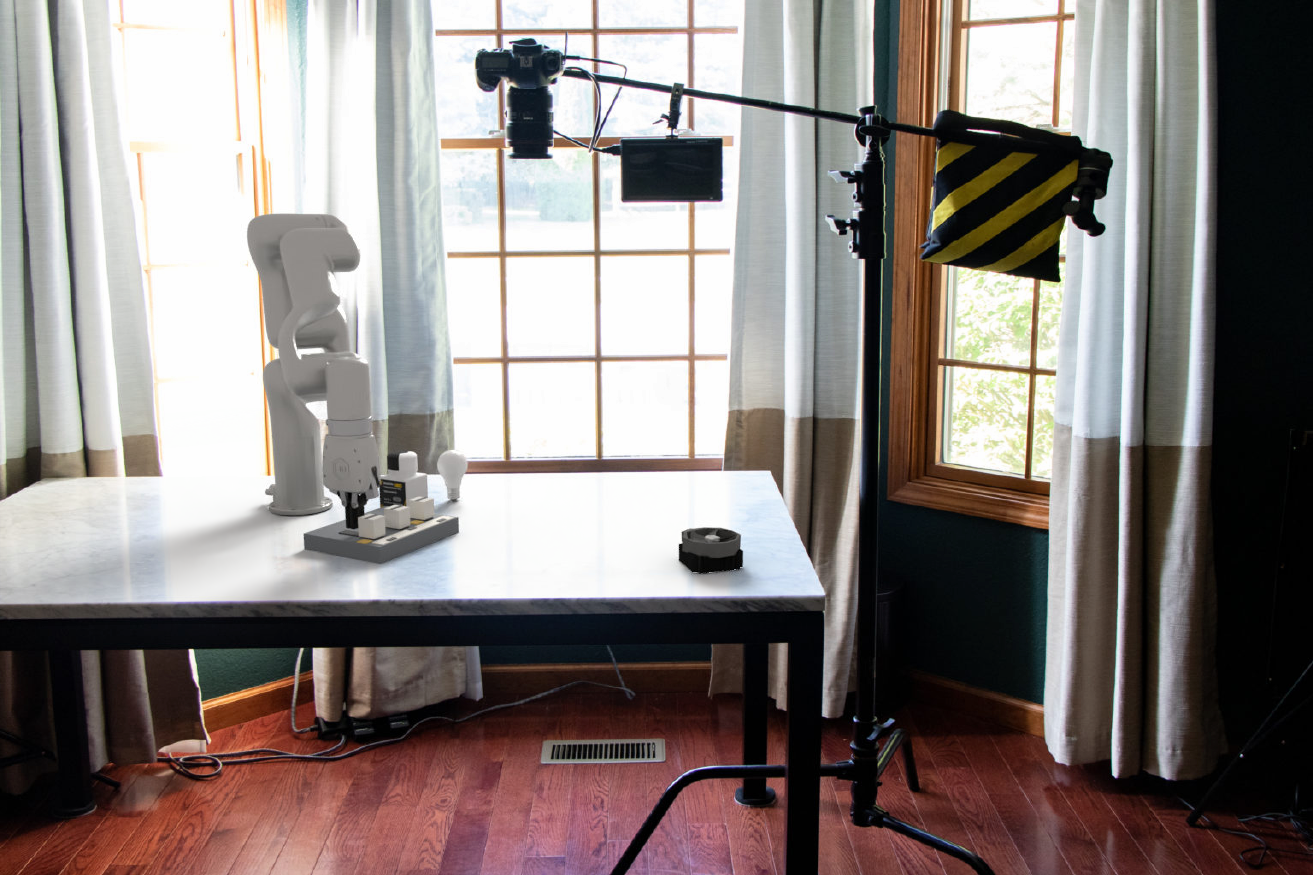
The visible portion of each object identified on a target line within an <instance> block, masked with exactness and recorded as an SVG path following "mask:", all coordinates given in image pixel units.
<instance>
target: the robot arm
mask: <svg viewBox="0 0 1313 875" xmlns="http://www.w3.org/2000/svg"><path fill="white" fill-rule="evenodd" d="M246 230H247V231H246V238H247V242H246V243H247V246H248V251H249V253H250V254H249V255H250V257H251V260H252V262H253V264H254V266H255V269H256V271H257V273H258V277H259V279H260V284H261V292H262V303H263V311H264V312H263V315H264V322H265V323H264V325H265V330H266V332H265V333H266V336H267V340H268V343H269V344H270V345H271V347H273V348H275V349H278V350H277V351H278V356H279V358H276V359H273V360H271V361H269V362H268V363H266V365H265V366H264V368H263V372H262V382H263V387H264V391H265V395H266V400H267V403H268V409H269V410H268V411H269V417H270V429H271V440H272V441H271V442H272V456H273V458H272V459H273V470H274V471H273V472H274V482H275V483H272V484H270V485H269V486H268V487H269V488H265V490H264V494H265V495H266V496H272V501H271V502H270V503H269V504H268V511H269V512H271V513H272V514H274V515H281V516H306V515H312V514H317V513H321V512H325V511H327V510H329V509H331V508H332V507H333V505H334V504H333V499H331V498H330V497H328V496H325V488H326V489H328V491H329V492H330V493H331V494H333V495H336V496H338V498H339V499H340V502H341V506H343V507H344V513H345V514H344V515H345V519H346V528H348V529H350V528H351V529H357V528H359V527H358V517H361V516H364V515H365V513H366V512H365V506H366V505H367V504H368V501H369V500H372V499H376V498H380V493H379V487H380V484H381V476H382V474H381V473H382V472H381V464H380V463H381V461H380V456H379V454H380V453H379V449H378V445H377V441H376V436H375V434H373V417H372V403H371V402H372V401H371V399H372V397H371V396H372V395H371V381H370V380H371V379H370V378H371V377H370V366H369V363H368V360H366V359H365V358H362V357H361V356H360V355H359V354H358V353H356V352H353V351H351V344H350V333H349V332H350V331H349V324H348V320H347V316H346V313H345V310H344V309H343V307H342V306H341V305H340V304H341V296H340V294H339V289H338V285H337V282H336V278H335V273H351V272H354V271H355V270H356V269H358V267H359V265H360V262H361V248H360V245H359V242H358V239H357V237H356V234H354V232H353V231H352V229H351V228H350V227H349V226H348V225H347V224H345V223H344V222H343V221H342V220H341V219H340V218H338V217H337V216H335V215H332V214H327V213H268V214H261V215H258V216H255V217H253V218H252V219H251V220H250V221H249V222H248V224H247V229H246ZM307 349H308V350H310V349H311V350H312V349H322V350H323V351H324V352H316V353H314V352H313V353H302V354H301V353H299V350H307ZM315 402H326V414H327V418H326V420H325V424H326V426H327V431H328V433H326V434H325V437H324V439H323V440H324V441H323V448H322V437H321V425H320V422H319V419H318V418H317V417H316V416H315V414H314V413H313V412H312V411H310V409H309V408H308V407H307V404H308V403H315Z"/></svg>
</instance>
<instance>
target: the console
mask: <svg viewBox="0 0 1313 875" xmlns="http://www.w3.org/2000/svg"><path fill="white" fill-rule="evenodd" d="M387 507H389V506H384V507H381V508H380V507H378V508H376V509H373V510H370V511H366V512H365V515H367V514H378V515H381V516H384V508H387ZM459 518H460V517H458V516H453V515H447V514H440V513H436V512H434V517H431V518H429V519H426V520H421V519H415V518H410V526H407V527H404V528H402V529H395V528H389V527H385V534H386V535H384V536H381V537H378V538H376V539H371V538H365V537H359V528H357V529H351V528H350V529H348V528H346V518H345V519H343V520H340V521H336V522H334V523H331V524H328V525H325V526H322V527H319V528H317V529H316V528H315V529H312V530H309V531H307V532H304V533H303V550H307V551H310V552H311V551H312V552H317V553H322V554H328V555H331V556H332V555H333V556H338V557H344V558H350V559H353V560H360V561H365V562H370V563H374V564H375V563H376V564H380V565H381V564H383V563H386V562H388V561H391V560H394V559H395V558H399V557H401V556H403V555H407V554H408V553H411V552H413V551H415V550H418V549H420V548H424V547H427V546H428V545H432V544H433V543H436V542H438V541H440V540H444V539H445V538H447V537H451V536H453V535H456V534H458V533H460V529H459V528H460V524H459Z"/></svg>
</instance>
